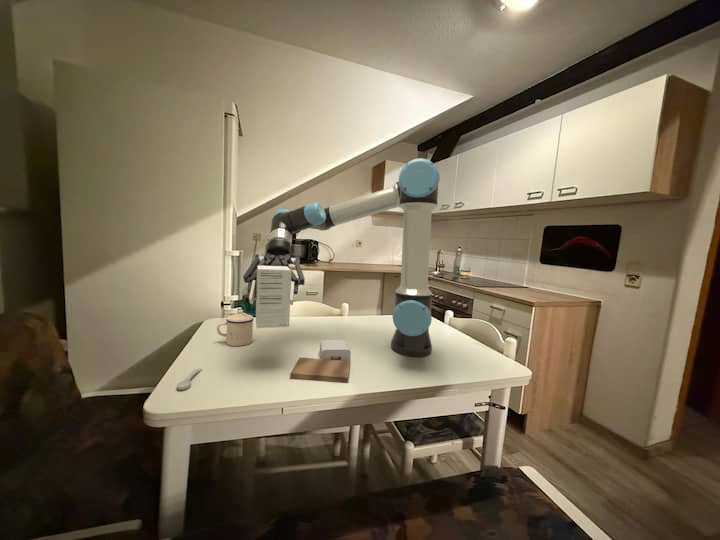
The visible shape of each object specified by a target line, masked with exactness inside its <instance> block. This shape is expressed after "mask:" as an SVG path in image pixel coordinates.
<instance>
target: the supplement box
mask: <svg viewBox="0 0 720 540" xmlns="http://www.w3.org/2000/svg"><path fill="white" fill-rule="evenodd" d="M291 270H292V269H291ZM291 270H290V269H289V268H288V267H287V266H263V265H259V266H257V269H256V271H257V282H256V291H255V297H256V299H255V327H256V329H267V328H289V327H290V315H291V313H290V312H291V305H290V295H291V285H292V281H291Z"/></svg>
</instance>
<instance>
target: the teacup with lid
mask: <svg viewBox="0 0 720 540" xmlns="http://www.w3.org/2000/svg"><path fill="white" fill-rule="evenodd" d="M225 320H226V321H225V322H221V323H219V324H218V325H217V326H216V332H217V334H218V335H219V336H221V337H226V339H225V340H226V341H225V342H226V344H227V345H229V346H232V347H243V346H247V345H249V344H251V343H252V342H253V331H254V330H253V329H254V328H253V326H254V316H253V315H251V314H248V313H246V312H244V310H243V309H238V310H237V312H235V313H233V314H231V315H228V316H227V317H226V319H225ZM221 326H226V333H222V332H221V331H220V327H221Z"/></svg>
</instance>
